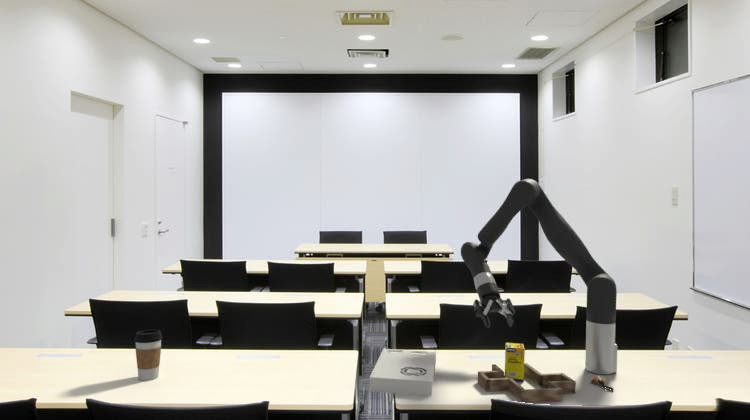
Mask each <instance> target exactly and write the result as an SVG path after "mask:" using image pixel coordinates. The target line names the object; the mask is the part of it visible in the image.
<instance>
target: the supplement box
mask: <svg viewBox="0 0 750 420" xmlns="http://www.w3.org/2000/svg"><path fill="white" fill-rule="evenodd" d="M504 345H505V346H504V347H505V352H504V354H505V355H504V359H505V360H504V378H512V379H513V380H515V381H516V382H520V383H521V382H523V383H524V382H525V375H524V363H525V353H526V352H525V351H526V349H525V346H524V343H514V342H505V344H504Z"/></svg>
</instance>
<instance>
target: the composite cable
mask: <svg viewBox="0 0 750 420" xmlns="http://www.w3.org/2000/svg"><path fill="white" fill-rule="evenodd" d="M605 382H606V378H605V377H604V376H601V375H600V374H599V375H597V377H596V376H592V379H591V380H590V383H591V384H592V385H595V384H596V385H595V386H597V385H599V386H598V387H600V386H601V387H600V388H602V387H603V388H604V389H603V388H602V389H603V390H605V389H606V388H609V389H611V390H609V389H606V390H608V391H615V390H614V388H613V387H611V386H609V385H605ZM605 387H606V388H605ZM606 390H605V391H606ZM608 391H607V392H608Z"/></svg>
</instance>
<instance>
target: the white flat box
mask: <svg viewBox="0 0 750 420" xmlns="http://www.w3.org/2000/svg"><path fill="white" fill-rule="evenodd" d="M436 362H437V349H435V350H434V351H427V350H426V351H425V350H413V349H411V350H409V349H391V348H386V347H383V349H382V351H381V353H380V355H379V357H378V359H377V362H376V363H375V366H374V367H373V369H372V371H371V374H370V376H369V392H373V393H386V394H401V395H402V394H403V395H412V396H413V395H414V396H415V395H416V396H428V397H429V396H430V397H431V396H432V395H433V388H434V387H433V385H434V379H435V372H436Z"/></svg>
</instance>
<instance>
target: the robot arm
mask: <svg viewBox="0 0 750 420" xmlns="http://www.w3.org/2000/svg"><path fill="white" fill-rule="evenodd" d="M525 207H528V209H530V211H531V212H532V213H533V214H534V216H535V217H536V218H537V220H538V222H539V224H540V227H541V230H542V232H543V234H544V236H545V238H546V240H547V241H548V243H549V244H550V245H551V246H552V248H553V249H554V250H555V251H556V252H557V254H558V255H559V256H560V257H561V258H563V260H565V261H566V262H567V263H568V265H570V266H571V267H572V268H573V269H574V270H575V271H576V272H577V274H578V275H579V277H580V278H581V279H582V281H583V282H584V284H585V286H586V287H587V288H586V328H585V330H586V331H585V334H586V335H585V366H584V369H585V370H586V371H588V372H590V373H592V374H599V375H612V373H613V374H614V372H616V373H617V372H618V371H617V370H618V344H617V343H616V320H617V319H616V317H617V294H618V292H617V291H618V290H617V285H616V282H615V280H614V279H613V278H612V277H611V276H610V274H608V273H607V272H606V271H605V270H604V269H603V268H602V267H601V265H599V263H598V262H597V261H596V260H595V259H594V258H593V256H592V255H591V253H590V251H589V249H588V248H587V246H586V245H585V243H584V241H582V239H581V238H580V236H579V234H577V233H576V231H575V230H574V229H573V228H572V226H571V225H570V223H568V222H567V221H566V219H565V218H564V217H563V215H562V214H561V213H560V212H559V211H558V209H556V207H555V206H554V205H553V204H552V202H551V201H550V199H549V197H548V196H547V195H546V193H545V191H544V190H543V187H541V185H540V184H539V183H538V182H537V181H536V180H534V179H532V178H524V179H521V180H517V182H515V183H514V184H513V186H512V187H511V189H510V190H509V193H508V195H507V196H506V198H505V199H504V201H503V202H502V204H501V205H500V206H499V207H498V209H497V211H496V212H495V213H494V214H493V215H492V217H490V219H489V220H488V221H487V222H486V223H485V224H484V225H483V227H482V228H481V229H480V230H479V231H478V233H477V239H478V241H479V242H480V243H479V244H478V243H475V242H472V241H467V242H466V241H465V242H464V243H463V244H462V245H461V248H460V256H461V259H462V261H463V262H464V264H465V265H466V266H467V268H468V269H469V271H470V273H471V276H472V278H473V282H474V286H475V290H476V293H477V296H478V298H479V300H478V299H476V298H475V300H474V302H473V303H472V306H473V309H474V312H475V317H476V318H481V319H482V321H483V324H484V326H485V327H486V328H490V327H491V323H492V322H491V321H490V318H489V316H488V313H500V315H503V316H504V317H505V320H506V322H507V324H508V326H509V327H512V326H513V325H514V318H513V316H514V314H515V313H516V310H515V307H514V305H513V303H512V300H511V298H506V299H502V298H501V294H500V291H499V290H500V289H499V288H498V285H497V283H496V280H495V278H494V276H493V274H492V270H491V269H490V266H489V264H488V262H486V260H487V258H488V256H489V255H490V252H491V250H492V248H493V246H494V244H495V243H496V242H497V241H498V240H499V238H501V236H502V235H503V234H504V232H505V231H506V230H507V228H508V227H509V225H510V223H511V222H512V220H513V219H514V218H515V217H516V216H517V214H519V212H521V211H522V210H523V209H524V208H525ZM481 307H482V308H484V310H483V311H482V309H481Z"/></svg>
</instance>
